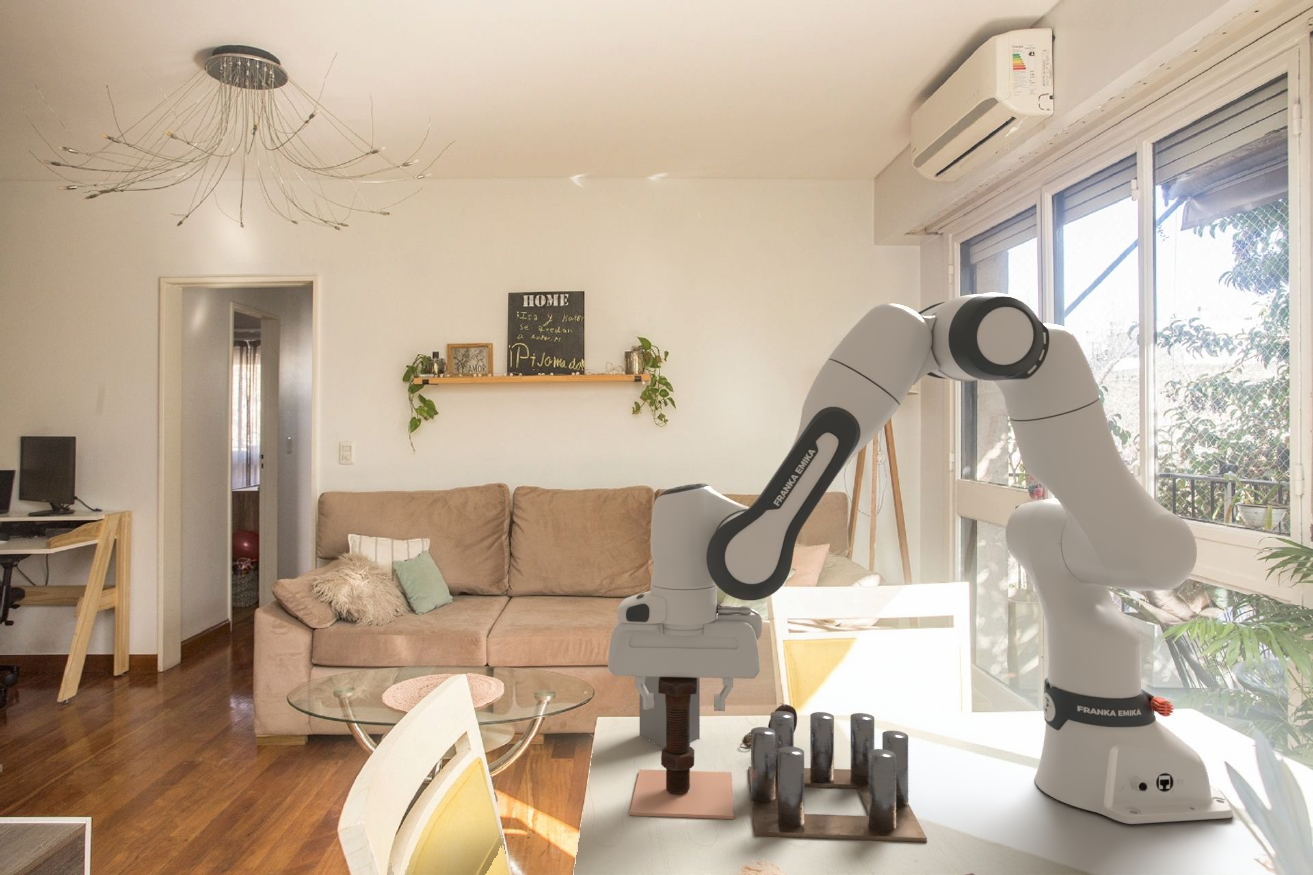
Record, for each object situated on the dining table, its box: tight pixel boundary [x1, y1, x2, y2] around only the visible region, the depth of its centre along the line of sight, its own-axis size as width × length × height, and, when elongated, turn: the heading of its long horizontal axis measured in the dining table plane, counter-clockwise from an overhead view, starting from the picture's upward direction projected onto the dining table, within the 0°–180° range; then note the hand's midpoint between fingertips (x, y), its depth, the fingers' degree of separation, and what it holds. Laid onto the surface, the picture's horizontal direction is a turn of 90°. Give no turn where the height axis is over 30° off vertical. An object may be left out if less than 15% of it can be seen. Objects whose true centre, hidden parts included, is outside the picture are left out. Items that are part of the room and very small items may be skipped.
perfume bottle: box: [639, 677, 701, 749], centre depth 124 cm, size 7×7×18 cm
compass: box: [739, 702, 798, 749], centre depth 121 cm, size 8×8×7 cm
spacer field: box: [748, 710, 928, 843], centre depth 103 cm, size 20×19×9 cm
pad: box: [629, 769, 734, 820], centre depth 105 cm, size 13×13×1 cm
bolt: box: [658, 677, 697, 794], centre depth 105 cm, size 6×5×15 cm
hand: (684, 709), depth 105 cm, fingers open, 8 cm apart
